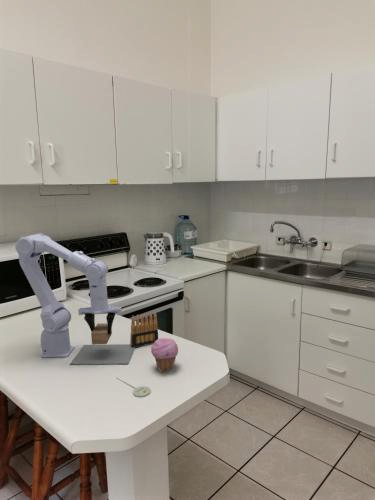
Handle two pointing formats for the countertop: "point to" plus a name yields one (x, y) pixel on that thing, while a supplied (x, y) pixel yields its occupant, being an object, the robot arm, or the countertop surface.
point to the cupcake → (164, 353)
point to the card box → (100, 334)
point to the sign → (140, 390)
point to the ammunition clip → (143, 331)
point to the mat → (104, 355)
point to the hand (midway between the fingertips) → (101, 333)
